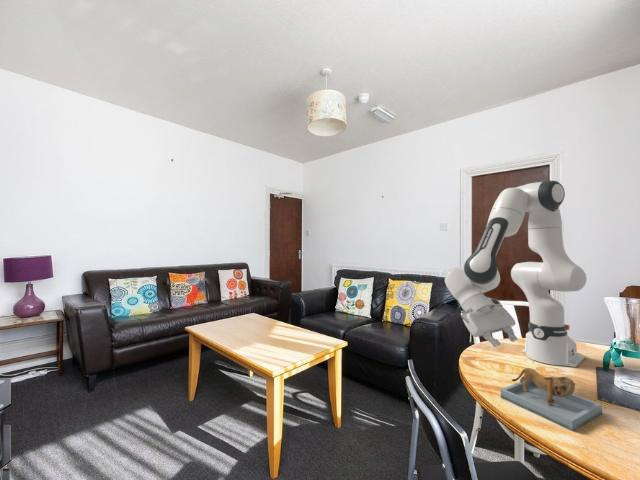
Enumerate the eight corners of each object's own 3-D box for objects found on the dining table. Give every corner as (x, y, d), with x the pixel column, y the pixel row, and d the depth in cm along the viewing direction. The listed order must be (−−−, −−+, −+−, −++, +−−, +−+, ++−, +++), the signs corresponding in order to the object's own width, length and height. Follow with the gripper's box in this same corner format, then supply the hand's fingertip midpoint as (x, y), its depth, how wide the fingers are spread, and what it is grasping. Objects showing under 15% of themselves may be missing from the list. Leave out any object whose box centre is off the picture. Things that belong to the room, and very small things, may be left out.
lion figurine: (571, 408, 83) (579, 379, 82) (566, 414, 79) (574, 384, 78) (513, 379, 94) (519, 353, 93) (507, 384, 91) (513, 357, 90)
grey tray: (530, 385, 96) (530, 378, 96) (602, 413, 80) (601, 404, 80) (500, 397, 89) (500, 389, 89) (572, 431, 73) (572, 421, 73)
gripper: (463, 306, 97) (493, 344, 89) (501, 299, 107) (531, 333, 98) (452, 316, 101) (480, 353, 93) (489, 309, 111) (517, 342, 102)
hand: (506, 343), depth 95 cm, fingers open, 8 cm apart
